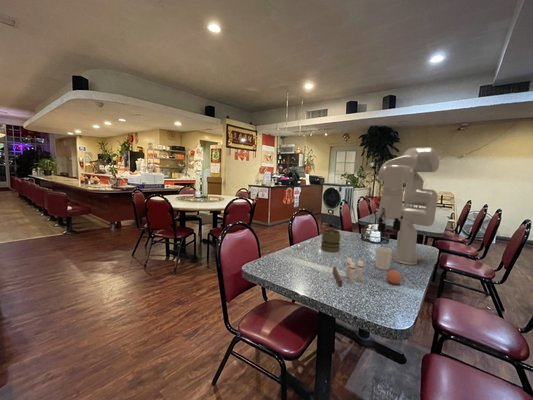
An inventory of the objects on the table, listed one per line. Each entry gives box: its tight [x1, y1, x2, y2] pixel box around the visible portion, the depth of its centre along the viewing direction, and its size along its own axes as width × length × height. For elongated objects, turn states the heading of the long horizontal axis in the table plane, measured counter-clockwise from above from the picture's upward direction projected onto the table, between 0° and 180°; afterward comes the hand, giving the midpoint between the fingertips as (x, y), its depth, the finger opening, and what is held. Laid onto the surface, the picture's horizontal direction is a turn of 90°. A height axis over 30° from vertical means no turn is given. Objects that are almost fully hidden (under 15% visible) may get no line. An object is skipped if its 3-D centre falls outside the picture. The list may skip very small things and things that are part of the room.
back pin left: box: [348, 261, 356, 284], centre depth 109 cm, size 2×2×9 cm
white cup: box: [375, 246, 393, 271], centre depth 128 cm, size 8×8×10 cm
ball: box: [386, 269, 403, 285], centre depth 109 cm, size 6×6×6 cm
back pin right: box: [345, 257, 353, 279], centre depth 113 cm, size 2×2×9 cm
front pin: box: [356, 260, 364, 282], centre depth 111 cm, size 2×2×9 cm
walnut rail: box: [332, 266, 343, 288], centre depth 112 cm, size 1×16×2 cm, turn 174°
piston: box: [321, 229, 341, 253], centre depth 156 cm, size 11×12×11 cm
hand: (388, 231), depth 109 cm, fingers open, 9 cm apart
